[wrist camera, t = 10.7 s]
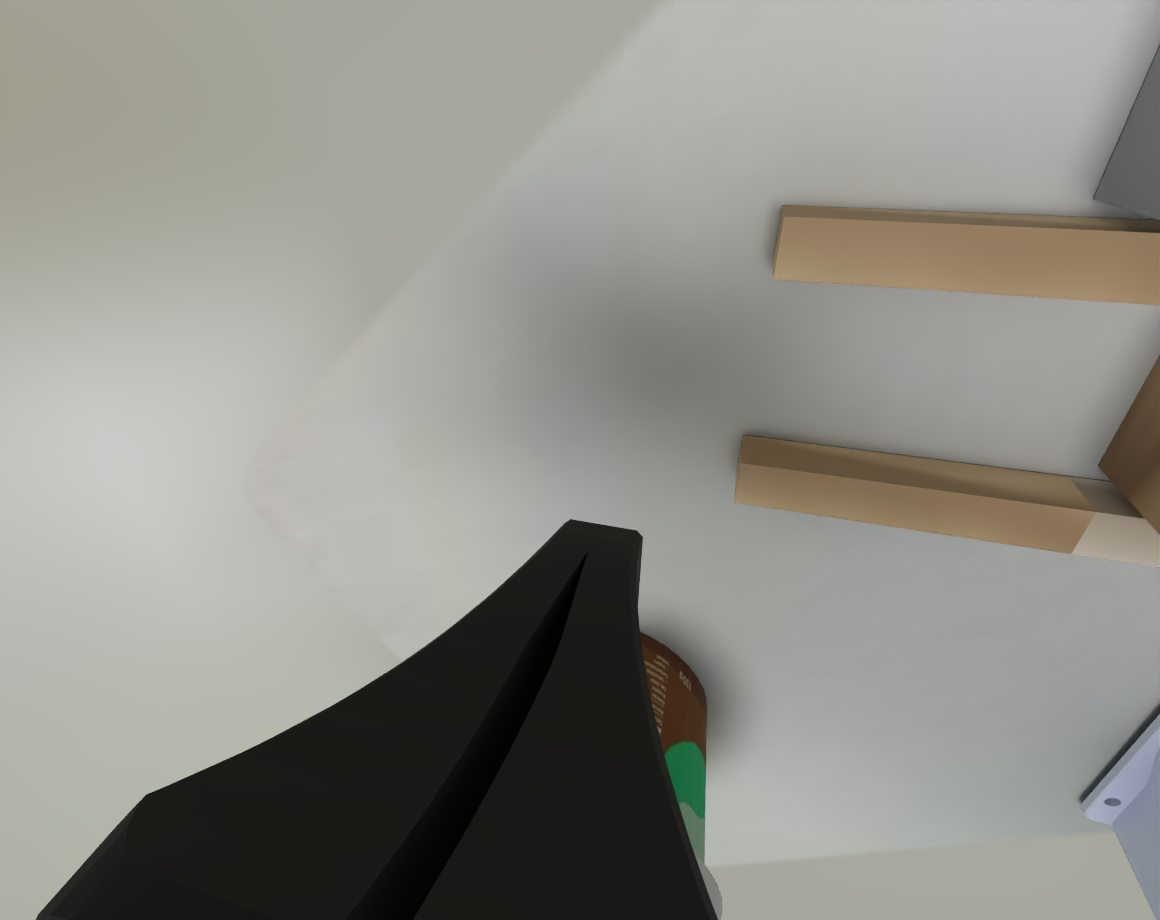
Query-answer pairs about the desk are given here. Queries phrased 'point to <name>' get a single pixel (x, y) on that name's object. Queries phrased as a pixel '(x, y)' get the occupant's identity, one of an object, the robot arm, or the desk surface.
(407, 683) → the robot arm
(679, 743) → the food container
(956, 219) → the channel
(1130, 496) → the block
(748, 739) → the desk surface
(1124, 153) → the grey housing block
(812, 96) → the desk surface
